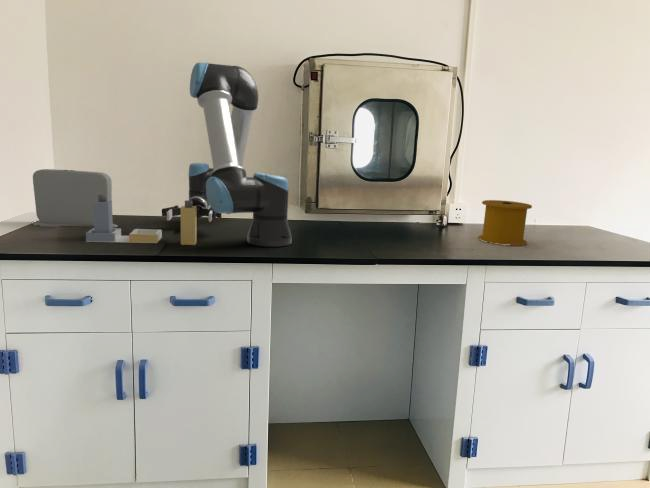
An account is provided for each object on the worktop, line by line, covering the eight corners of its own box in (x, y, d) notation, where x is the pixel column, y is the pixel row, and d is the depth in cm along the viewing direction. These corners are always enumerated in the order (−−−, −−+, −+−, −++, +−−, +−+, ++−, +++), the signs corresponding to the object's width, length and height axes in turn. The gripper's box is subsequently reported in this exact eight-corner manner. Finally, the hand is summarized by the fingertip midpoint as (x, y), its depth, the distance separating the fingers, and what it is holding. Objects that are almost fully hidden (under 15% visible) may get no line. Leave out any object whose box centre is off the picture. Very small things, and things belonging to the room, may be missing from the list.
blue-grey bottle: (113, 237, 171) (111, 194, 168) (109, 240, 166) (107, 196, 163) (98, 236, 170) (96, 193, 167) (94, 239, 166) (92, 195, 163)
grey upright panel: (122, 226, 195) (120, 171, 190) (109, 230, 185) (106, 174, 181) (42, 220, 197) (39, 166, 193) (25, 225, 188) (21, 168, 183)
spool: (515, 248, 191) (520, 207, 187) (469, 239, 202) (474, 201, 199) (534, 242, 204) (539, 204, 200) (490, 234, 215) (494, 198, 212)
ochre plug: (196, 241, 175) (196, 200, 172) (195, 244, 170) (195, 202, 167) (182, 241, 174) (182, 199, 171) (180, 244, 170) (180, 201, 167)
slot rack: (162, 239, 176) (162, 229, 175) (157, 246, 166) (156, 235, 165) (94, 237, 173) (94, 227, 172) (85, 244, 163) (84, 233, 162)
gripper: (229, 218, 198) (226, 229, 177) (161, 216, 195) (150, 227, 174) (230, 198, 196) (227, 207, 176) (161, 196, 193) (150, 204, 172)
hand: (189, 217), depth 175 cm, fingers open, 13 cm apart
